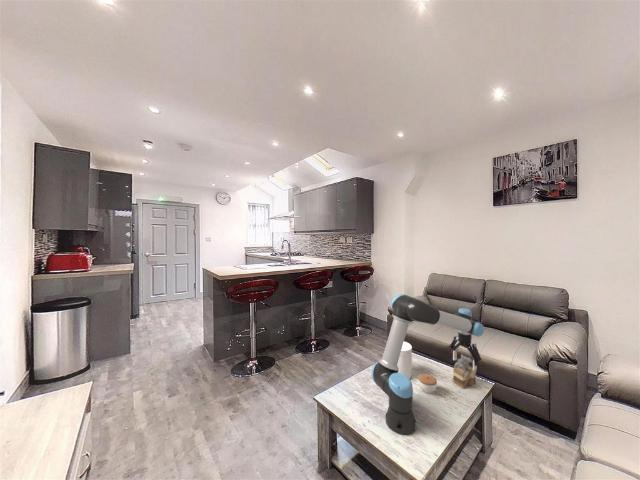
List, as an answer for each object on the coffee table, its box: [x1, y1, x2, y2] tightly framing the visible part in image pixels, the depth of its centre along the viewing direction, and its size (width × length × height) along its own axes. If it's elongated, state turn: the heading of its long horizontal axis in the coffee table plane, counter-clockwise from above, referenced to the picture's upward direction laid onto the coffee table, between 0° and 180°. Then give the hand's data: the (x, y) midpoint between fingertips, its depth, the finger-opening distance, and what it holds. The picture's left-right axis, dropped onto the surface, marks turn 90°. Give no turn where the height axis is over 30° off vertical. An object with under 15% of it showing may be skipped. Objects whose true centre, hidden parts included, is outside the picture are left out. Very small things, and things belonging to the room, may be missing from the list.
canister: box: [397, 341, 413, 380], centre depth 174 cm, size 16×16×20 cm
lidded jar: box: [417, 373, 438, 395], centre depth 156 cm, size 11×11×9 cm
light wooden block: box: [452, 365, 477, 381], centre depth 163 cm, size 12×7×5 cm, turn 111°
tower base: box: [452, 375, 477, 389], centre depth 163 cm, size 12×7×5 cm, turn 115°
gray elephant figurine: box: [453, 354, 473, 372], centre depth 163 cm, size 9×12×8 cm
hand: (464, 364), depth 163 cm, fingers open, 13 cm apart
